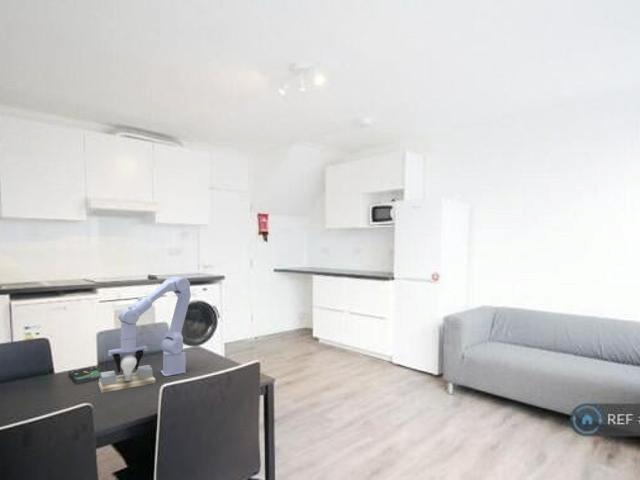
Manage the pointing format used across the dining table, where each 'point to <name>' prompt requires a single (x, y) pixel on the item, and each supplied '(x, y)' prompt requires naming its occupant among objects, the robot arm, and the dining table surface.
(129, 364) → the lightbulb
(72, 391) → the dining table surface
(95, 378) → the disk drive
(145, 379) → the rail board
